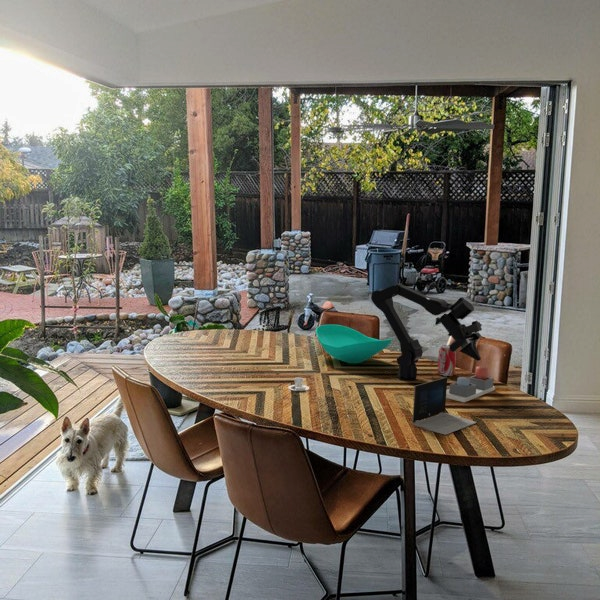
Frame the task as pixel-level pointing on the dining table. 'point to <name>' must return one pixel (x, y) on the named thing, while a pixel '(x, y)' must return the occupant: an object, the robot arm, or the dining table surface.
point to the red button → (481, 372)
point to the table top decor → (348, 343)
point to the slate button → (463, 381)
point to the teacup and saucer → (299, 385)
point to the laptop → (435, 409)
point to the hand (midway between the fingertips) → (479, 360)
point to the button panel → (470, 389)
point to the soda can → (446, 361)
